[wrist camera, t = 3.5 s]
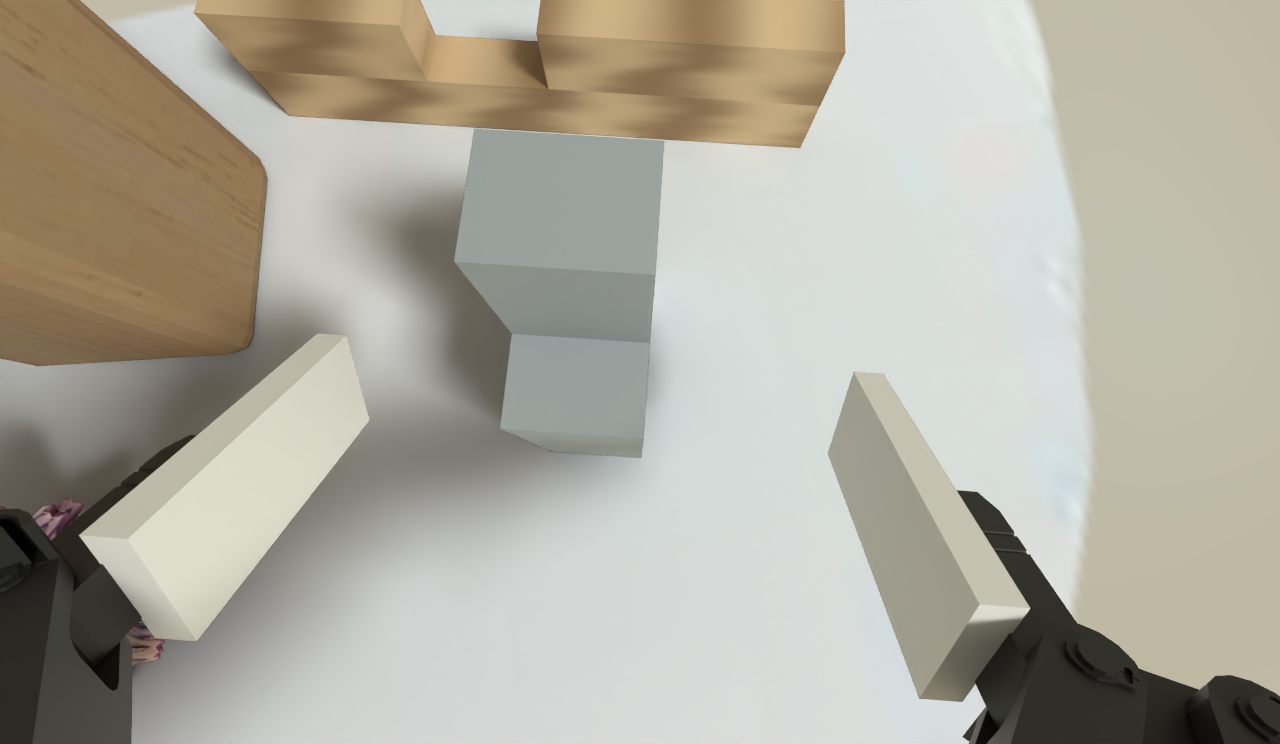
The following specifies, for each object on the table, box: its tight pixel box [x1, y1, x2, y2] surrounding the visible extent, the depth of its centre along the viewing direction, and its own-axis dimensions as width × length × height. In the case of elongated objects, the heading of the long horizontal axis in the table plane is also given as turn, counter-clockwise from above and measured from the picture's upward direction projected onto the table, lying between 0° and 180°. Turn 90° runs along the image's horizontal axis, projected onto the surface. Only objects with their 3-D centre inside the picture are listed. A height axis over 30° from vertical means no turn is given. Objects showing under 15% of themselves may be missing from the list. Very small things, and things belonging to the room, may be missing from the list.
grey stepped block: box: [454, 129, 664, 458], centre depth 18 cm, size 8×4×14 cm, turn 176°
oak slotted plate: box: [194, 0, 845, 148], centre depth 24 cm, size 26×2×6 cm, turn 86°
